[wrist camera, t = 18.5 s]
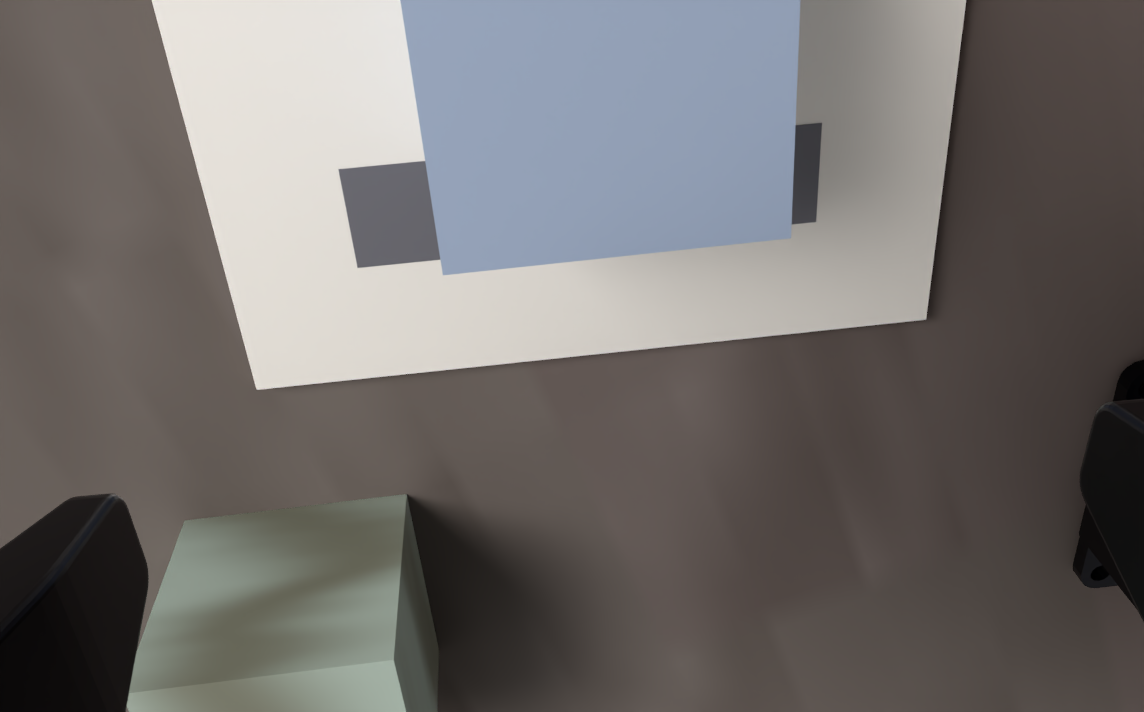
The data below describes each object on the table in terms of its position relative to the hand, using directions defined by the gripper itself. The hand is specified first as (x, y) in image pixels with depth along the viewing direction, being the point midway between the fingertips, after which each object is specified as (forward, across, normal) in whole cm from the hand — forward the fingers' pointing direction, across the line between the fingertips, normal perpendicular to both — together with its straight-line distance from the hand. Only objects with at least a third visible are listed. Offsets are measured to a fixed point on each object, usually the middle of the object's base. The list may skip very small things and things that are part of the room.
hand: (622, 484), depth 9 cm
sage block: (+11, +6, +11) cm, 17 cm away
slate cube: (+11, -1, -2) cm, 11 cm away
